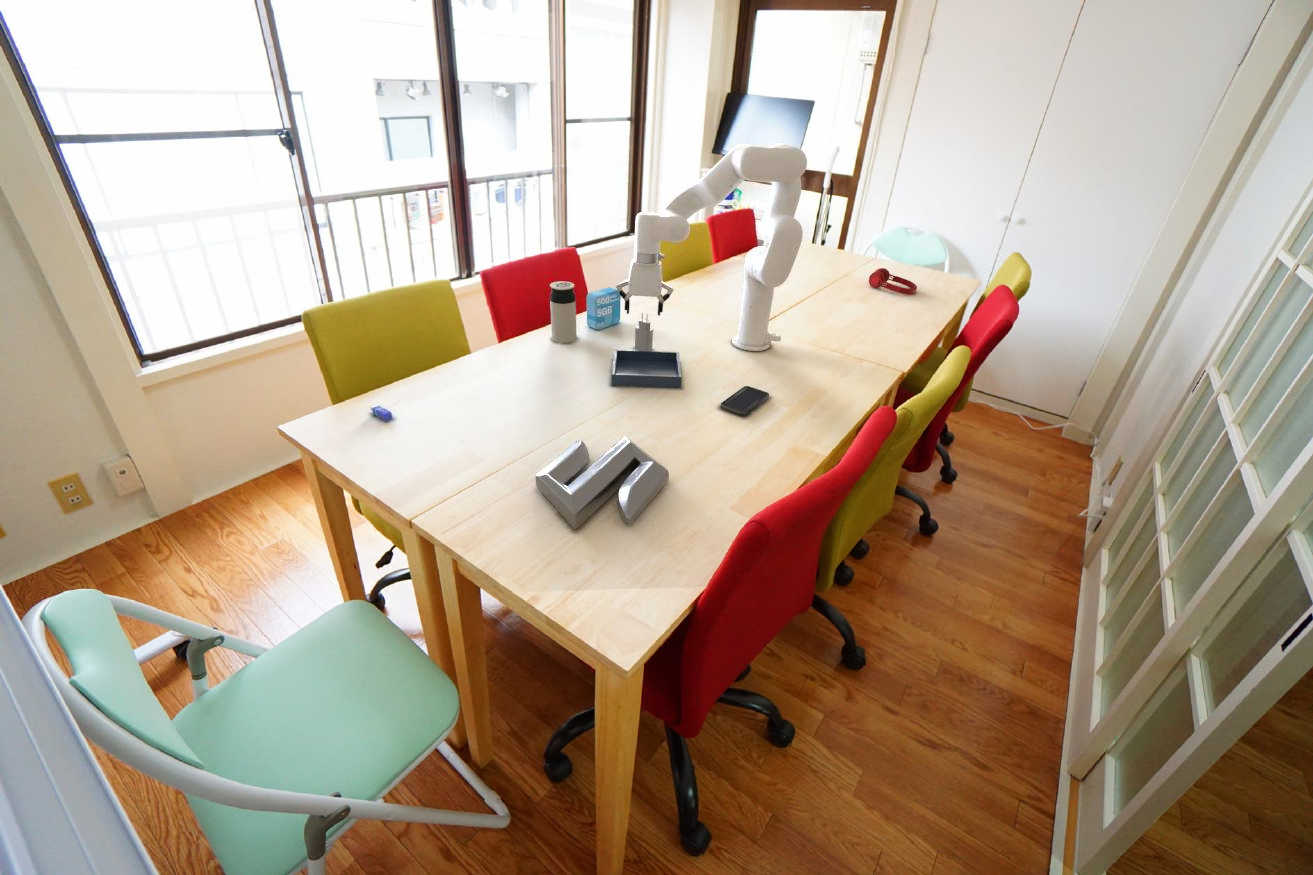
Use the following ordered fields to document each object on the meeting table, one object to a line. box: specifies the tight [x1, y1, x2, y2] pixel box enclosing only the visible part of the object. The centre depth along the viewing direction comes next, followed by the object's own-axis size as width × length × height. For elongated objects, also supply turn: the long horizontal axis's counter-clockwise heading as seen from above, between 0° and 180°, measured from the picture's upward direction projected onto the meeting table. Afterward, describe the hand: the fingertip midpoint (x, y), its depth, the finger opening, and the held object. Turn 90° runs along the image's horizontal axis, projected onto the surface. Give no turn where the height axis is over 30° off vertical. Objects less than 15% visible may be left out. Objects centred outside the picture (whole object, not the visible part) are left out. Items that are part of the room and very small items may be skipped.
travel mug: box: [549, 280, 577, 344], centre depth 185 cm, size 8×8×18 cm
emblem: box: [535, 436, 670, 530], centre depth 121 cm, size 28×5×28 cm
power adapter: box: [634, 312, 654, 351], centre depth 182 cm, size 3×5×12 cm, turn 55°
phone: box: [720, 385, 770, 417], centre depth 157 cm, size 8×1×15 cm
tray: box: [610, 348, 683, 389], centre depth 169 cm, size 20×18×4 cm
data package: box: [586, 286, 622, 331], centre depth 199 cm, size 12×4×12 cm, turn 138°
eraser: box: [370, 404, 393, 422], centre depth 142 cm, size 2×6×2 cm, turn 53°
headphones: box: [868, 267, 918, 295], centre depth 255 cm, size 15×7×20 cm
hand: (643, 313), depth 179 cm, fingers open, 9 cm apart
